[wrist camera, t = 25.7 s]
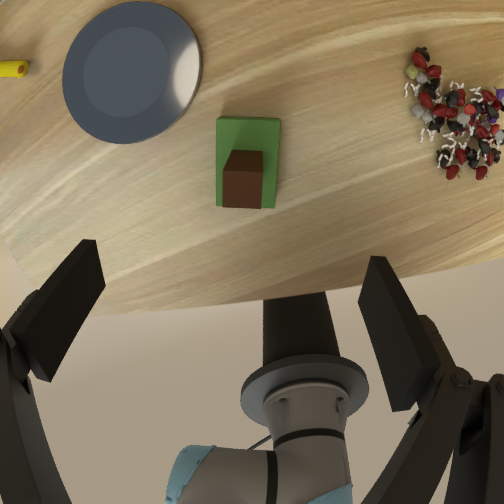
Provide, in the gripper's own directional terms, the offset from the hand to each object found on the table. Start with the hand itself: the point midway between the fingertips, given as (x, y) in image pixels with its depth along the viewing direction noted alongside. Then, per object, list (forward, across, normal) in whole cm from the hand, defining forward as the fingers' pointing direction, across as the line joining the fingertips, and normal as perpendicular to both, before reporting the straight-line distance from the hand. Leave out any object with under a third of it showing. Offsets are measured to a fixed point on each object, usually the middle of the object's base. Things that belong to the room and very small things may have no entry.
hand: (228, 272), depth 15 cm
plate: (+21, +13, -10) cm, 26 cm away
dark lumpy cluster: (+21, -23, -8) cm, 33 cm away
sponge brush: (+21, 0, 0) cm, 21 cm away
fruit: (+21, +30, -14) cm, 39 cm away
